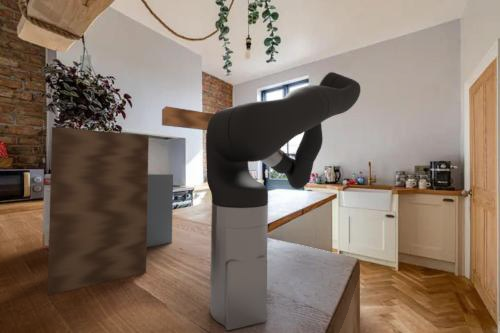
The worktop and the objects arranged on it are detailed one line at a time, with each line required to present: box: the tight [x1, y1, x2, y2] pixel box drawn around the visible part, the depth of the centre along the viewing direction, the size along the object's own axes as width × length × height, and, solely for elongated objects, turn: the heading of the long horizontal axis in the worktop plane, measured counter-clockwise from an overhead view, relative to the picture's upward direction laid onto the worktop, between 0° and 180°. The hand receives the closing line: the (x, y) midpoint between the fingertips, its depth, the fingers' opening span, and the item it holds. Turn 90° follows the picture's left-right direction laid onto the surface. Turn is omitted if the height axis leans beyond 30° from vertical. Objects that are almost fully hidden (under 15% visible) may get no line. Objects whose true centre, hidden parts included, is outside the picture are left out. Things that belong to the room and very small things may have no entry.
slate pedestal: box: [146, 173, 174, 248], centre depth 68 cm, size 16×10×21 cm, turn 124°
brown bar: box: [161, 106, 215, 131], centre depth 62 cm, size 24×4×4 cm, turn 125°
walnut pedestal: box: [47, 126, 150, 296], centre depth 48 cm, size 16×10×30 cm, turn 124°
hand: (227, 119), depth 66 cm, fingers closed on brown bar, 4 cm apart
